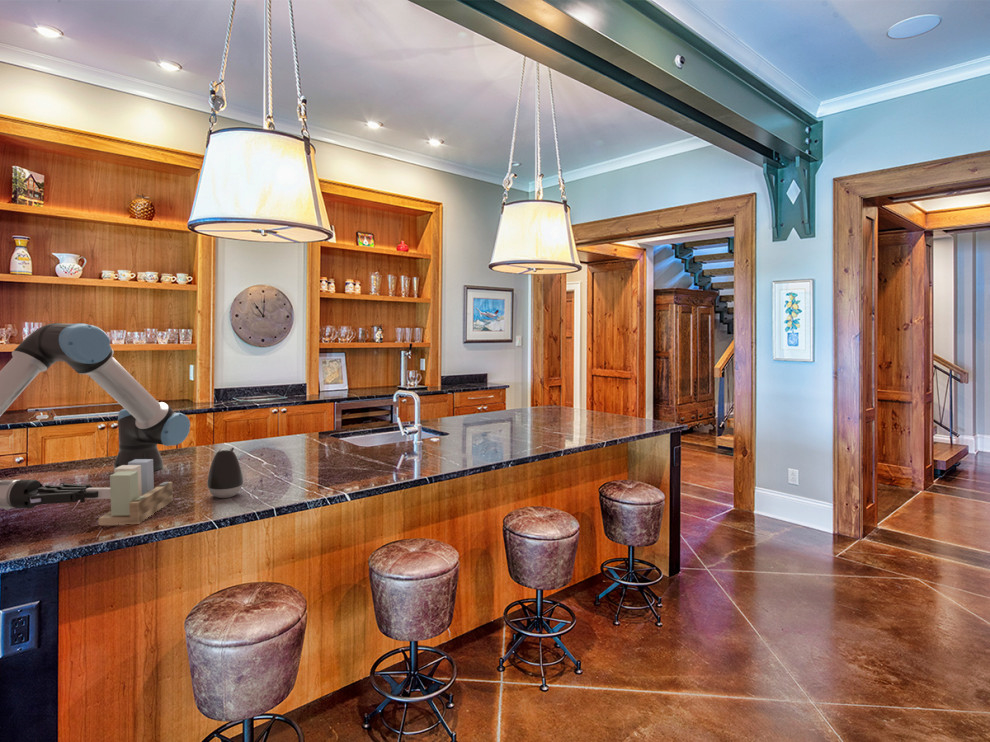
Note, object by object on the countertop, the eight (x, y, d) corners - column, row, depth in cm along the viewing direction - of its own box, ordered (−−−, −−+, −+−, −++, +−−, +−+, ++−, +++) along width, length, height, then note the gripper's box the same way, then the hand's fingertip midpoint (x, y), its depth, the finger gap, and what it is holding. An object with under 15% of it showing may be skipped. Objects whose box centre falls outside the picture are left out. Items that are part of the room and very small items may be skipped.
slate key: (136, 495, 164) (135, 459, 164) (154, 494, 165) (153, 459, 164) (129, 499, 160) (127, 462, 160) (147, 499, 161) (146, 462, 160)
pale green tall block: (119, 510, 151) (118, 471, 150) (138, 510, 151) (137, 471, 151) (111, 515, 147) (109, 475, 146) (131, 515, 148) (129, 475, 147)
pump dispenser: (249, 490, 179) (248, 445, 177) (234, 500, 168) (234, 452, 167) (217, 490, 178) (216, 444, 177) (201, 500, 168) (200, 451, 167)
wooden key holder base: (138, 501, 166) (137, 480, 165) (172, 501, 167) (172, 480, 166) (98, 525, 146) (97, 502, 145) (138, 524, 147) (137, 501, 146)
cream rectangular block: (123, 502, 158) (122, 465, 157) (142, 502, 158) (140, 465, 157) (115, 507, 154) (114, 468, 153) (134, 506, 154) (133, 468, 153)
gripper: (36, 500, 152) (127, 499, 155) (-1, 516, 139) (99, 514, 142) (35, 473, 152) (126, 473, 154) (-2, 487, 139) (98, 486, 141)
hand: (113, 493), depth 148 cm, fingers closed
